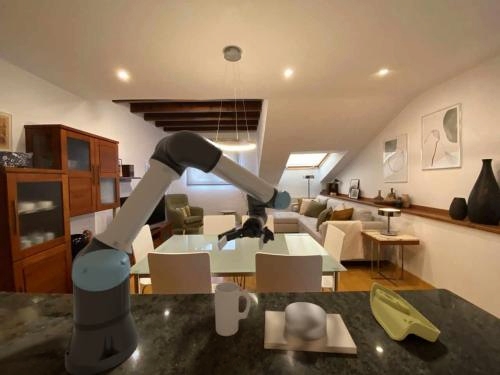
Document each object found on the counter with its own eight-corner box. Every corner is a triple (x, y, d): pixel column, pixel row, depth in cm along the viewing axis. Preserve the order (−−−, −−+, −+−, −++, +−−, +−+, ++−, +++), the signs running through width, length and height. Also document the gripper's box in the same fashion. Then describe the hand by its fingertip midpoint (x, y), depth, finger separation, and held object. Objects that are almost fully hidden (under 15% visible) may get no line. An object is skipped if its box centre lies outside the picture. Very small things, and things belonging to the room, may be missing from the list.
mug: (214, 337, 61) (213, 293, 61) (215, 322, 68) (215, 282, 68) (251, 335, 62) (251, 291, 62) (249, 320, 69) (249, 280, 69)
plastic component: (445, 335, 58) (410, 319, 58) (430, 360, 59) (396, 344, 59) (396, 292, 78) (370, 280, 78) (385, 310, 79) (359, 298, 78)
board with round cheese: (264, 348, 57) (264, 326, 57) (265, 315, 71) (265, 298, 71) (356, 353, 55) (356, 331, 55) (339, 319, 69) (339, 301, 69)
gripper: (285, 234, 91) (279, 256, 71) (225, 236, 97) (204, 257, 77) (283, 215, 91) (277, 233, 70) (223, 218, 97) (201, 235, 76)
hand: (239, 246), depth 73 cm, fingers open, 13 cm apart
